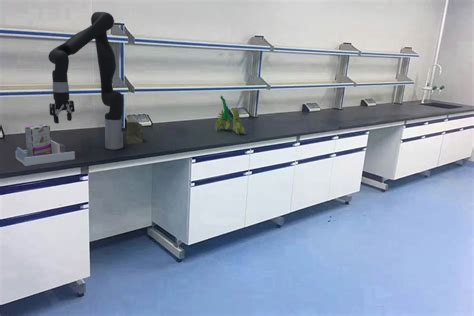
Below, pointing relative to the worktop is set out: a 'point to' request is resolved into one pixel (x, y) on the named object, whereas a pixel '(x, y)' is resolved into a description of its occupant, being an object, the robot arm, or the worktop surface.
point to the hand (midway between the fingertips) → (63, 121)
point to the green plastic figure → (236, 121)
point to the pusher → (57, 147)
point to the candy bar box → (38, 140)
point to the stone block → (134, 132)
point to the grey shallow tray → (42, 157)
